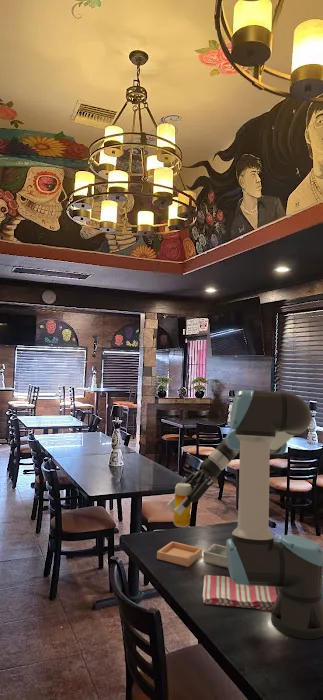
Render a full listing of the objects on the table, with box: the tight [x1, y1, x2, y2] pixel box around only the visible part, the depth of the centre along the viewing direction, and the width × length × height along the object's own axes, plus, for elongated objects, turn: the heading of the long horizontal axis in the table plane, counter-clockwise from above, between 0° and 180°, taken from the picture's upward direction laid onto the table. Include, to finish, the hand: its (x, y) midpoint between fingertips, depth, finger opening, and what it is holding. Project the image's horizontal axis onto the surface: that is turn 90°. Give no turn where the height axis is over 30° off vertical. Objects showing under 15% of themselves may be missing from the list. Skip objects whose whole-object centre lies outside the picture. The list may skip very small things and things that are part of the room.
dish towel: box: [202, 574, 278, 611], centre depth 151 cm, size 17×23×4 cm
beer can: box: [172, 482, 193, 528], centre depth 179 cm, size 6×6×15 cm
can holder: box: [202, 543, 228, 569], centre depth 177 cm, size 10×10×4 cm
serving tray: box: [156, 541, 203, 568], centre depth 178 cm, size 13×13×2 cm
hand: (173, 509), depth 178 cm, fingers closed on beer can, 6 cm apart
